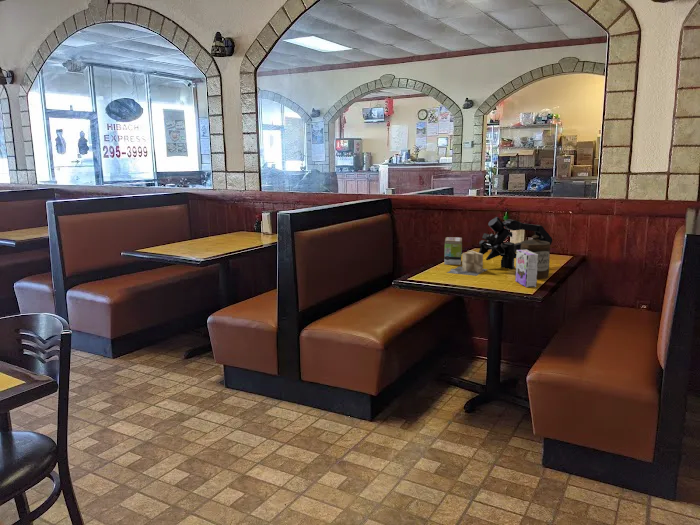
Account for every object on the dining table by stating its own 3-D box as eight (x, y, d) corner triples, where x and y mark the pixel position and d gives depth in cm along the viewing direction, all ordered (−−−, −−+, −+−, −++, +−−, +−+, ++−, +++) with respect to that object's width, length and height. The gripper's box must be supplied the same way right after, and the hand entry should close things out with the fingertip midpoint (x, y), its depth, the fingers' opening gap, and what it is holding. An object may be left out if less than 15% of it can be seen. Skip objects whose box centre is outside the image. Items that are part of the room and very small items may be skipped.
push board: (487, 270, 311) (487, 267, 310) (476, 276, 295) (476, 273, 295) (458, 267, 320) (458, 264, 319) (446, 273, 304) (446, 270, 304)
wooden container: (528, 280, 286) (530, 237, 281) (514, 274, 300) (515, 233, 296) (554, 278, 289) (556, 236, 285) (538, 272, 303) (540, 232, 299)
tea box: (461, 265, 325) (461, 240, 322) (444, 265, 327) (444, 240, 324) (461, 260, 339) (462, 236, 336) (444, 260, 341) (445, 236, 338)
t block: (471, 267, 315) (471, 250, 313) (482, 271, 304) (483, 254, 302) (458, 269, 313) (459, 251, 311) (469, 273, 301) (469, 255, 299)
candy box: (514, 281, 284) (516, 249, 281) (525, 280, 284) (527, 249, 281) (525, 287, 270) (526, 254, 267) (537, 287, 271) (538, 254, 268)
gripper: (482, 226, 316) (464, 246, 315) (500, 230, 299) (482, 251, 298) (494, 238, 320) (476, 259, 319) (512, 243, 303) (494, 265, 302)
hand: (482, 258), depth 309 cm, fingers open, 9 cm apart
